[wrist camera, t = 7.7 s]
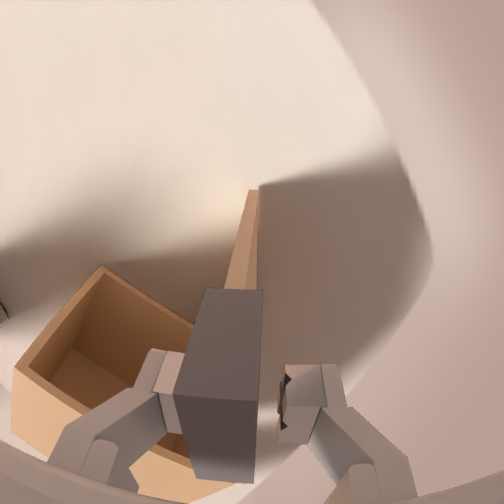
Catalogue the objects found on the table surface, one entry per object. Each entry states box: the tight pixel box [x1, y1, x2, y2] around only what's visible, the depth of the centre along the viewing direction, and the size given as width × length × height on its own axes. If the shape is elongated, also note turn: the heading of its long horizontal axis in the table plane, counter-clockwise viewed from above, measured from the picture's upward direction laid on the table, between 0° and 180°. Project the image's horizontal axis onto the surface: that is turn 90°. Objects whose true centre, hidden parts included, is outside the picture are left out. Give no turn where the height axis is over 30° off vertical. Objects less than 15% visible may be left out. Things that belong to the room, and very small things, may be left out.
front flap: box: [172, 190, 263, 484], centre depth 15 cm, size 2×13×16 cm, turn 179°
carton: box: [11, 265, 235, 504], centre depth 21 cm, size 11×14×12 cm
